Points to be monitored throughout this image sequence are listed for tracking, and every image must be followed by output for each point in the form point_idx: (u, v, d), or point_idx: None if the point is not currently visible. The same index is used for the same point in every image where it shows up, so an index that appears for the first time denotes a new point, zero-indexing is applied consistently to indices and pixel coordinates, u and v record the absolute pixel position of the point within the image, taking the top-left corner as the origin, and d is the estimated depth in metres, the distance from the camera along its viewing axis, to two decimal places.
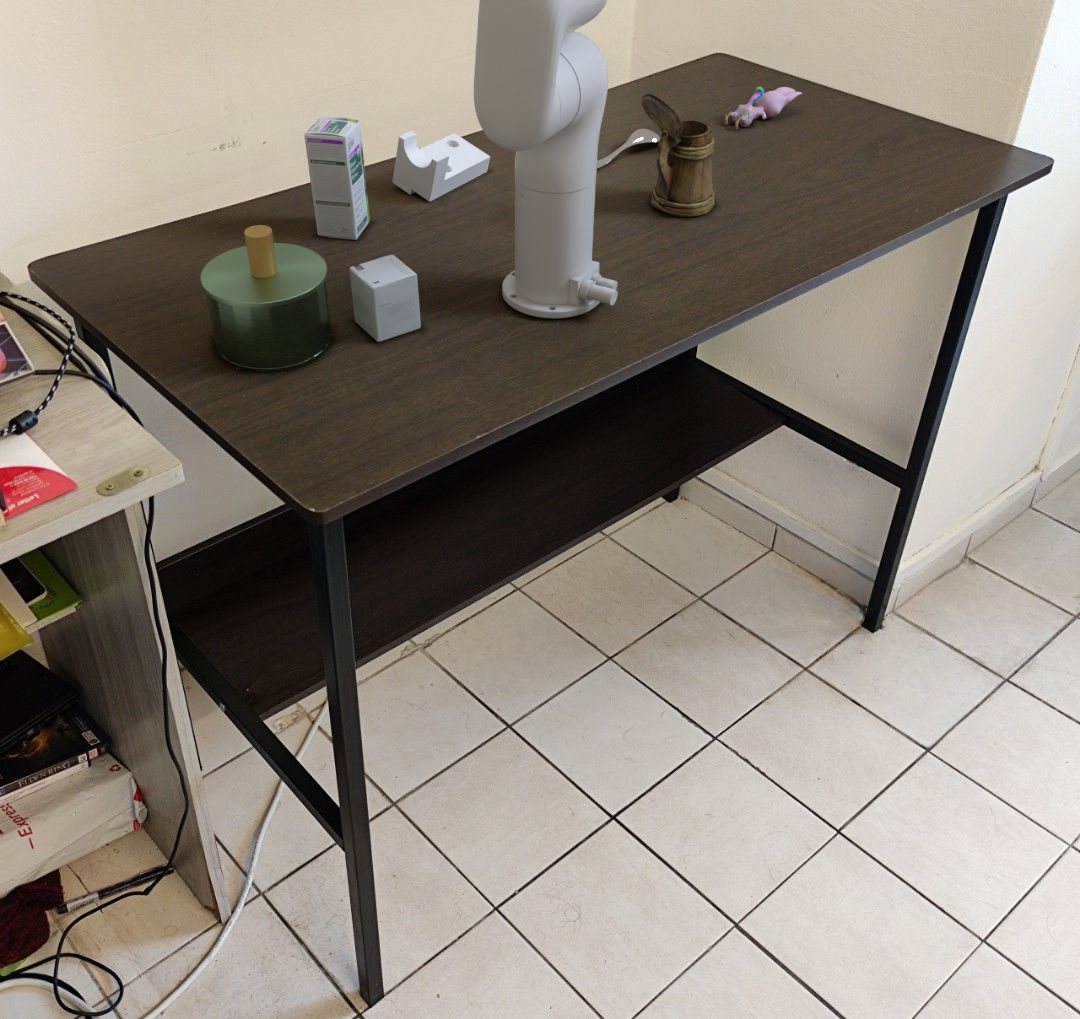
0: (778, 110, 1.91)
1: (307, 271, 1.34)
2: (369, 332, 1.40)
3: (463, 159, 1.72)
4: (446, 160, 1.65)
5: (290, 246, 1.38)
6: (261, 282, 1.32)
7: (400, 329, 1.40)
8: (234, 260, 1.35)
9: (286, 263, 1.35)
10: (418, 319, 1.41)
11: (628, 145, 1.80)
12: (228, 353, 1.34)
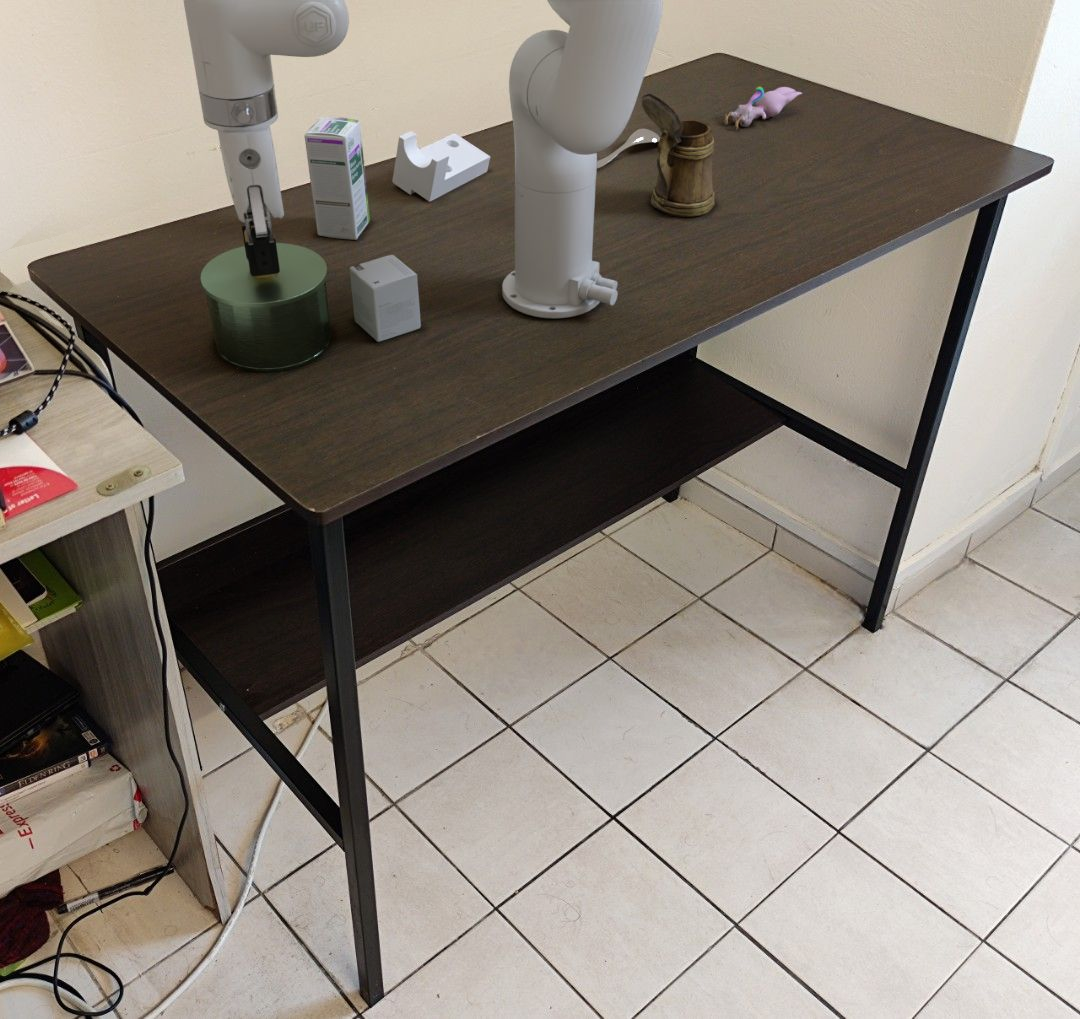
0: (778, 110, 1.91)
1: (307, 271, 1.34)
2: (369, 332, 1.40)
3: (463, 159, 1.72)
4: (446, 160, 1.65)
5: (290, 246, 1.38)
6: (261, 282, 1.32)
7: (400, 329, 1.40)
8: (234, 260, 1.35)
9: (286, 263, 1.35)
10: (418, 319, 1.41)
11: (628, 145, 1.80)
12: (228, 353, 1.34)
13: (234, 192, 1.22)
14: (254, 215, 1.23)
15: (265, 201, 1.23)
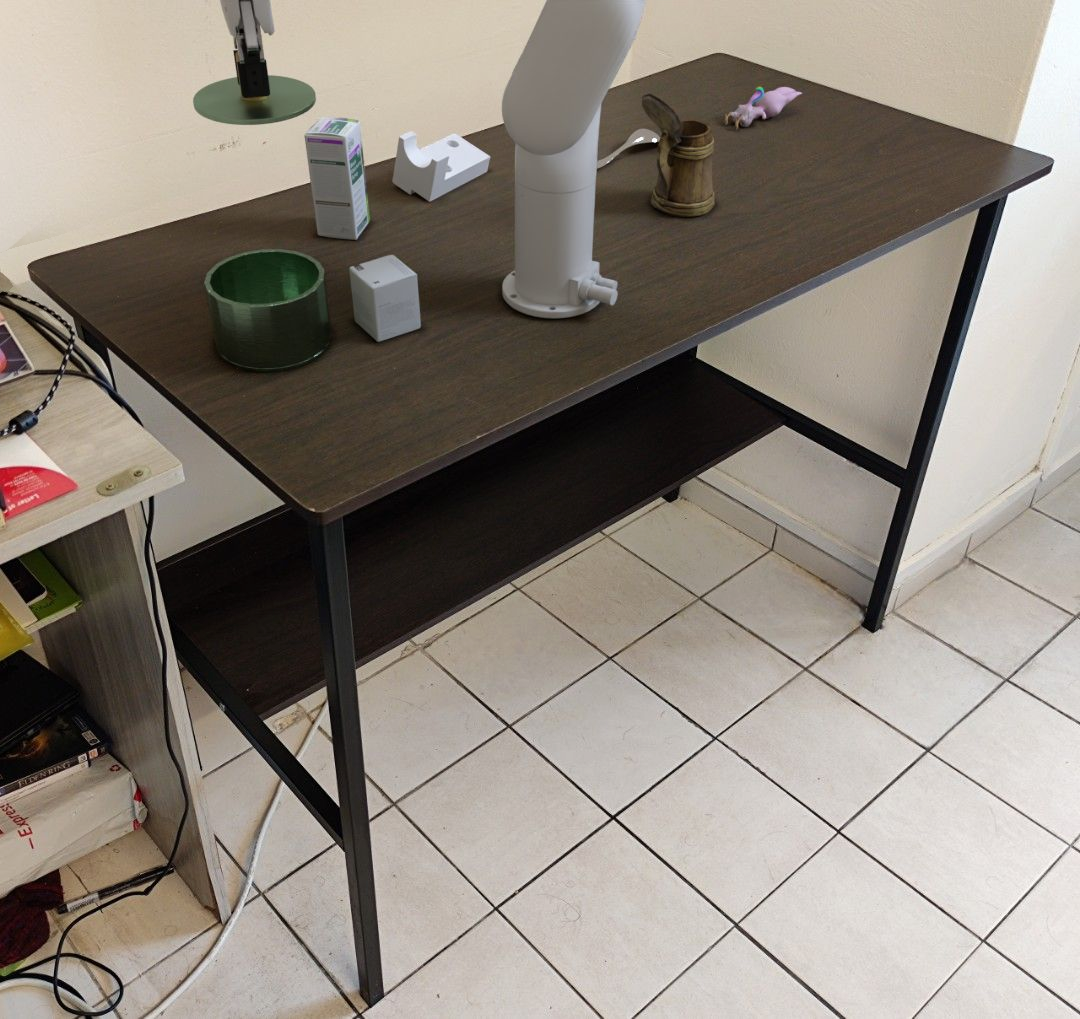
0: (778, 110, 1.91)
1: (296, 96, 1.38)
2: (369, 332, 1.40)
3: (463, 159, 1.72)
4: (446, 160, 1.65)
5: (280, 77, 1.43)
6: (252, 104, 1.36)
7: (400, 329, 1.40)
8: (226, 87, 1.40)
9: (276, 90, 1.40)
10: (418, 319, 1.41)
11: (628, 145, 1.80)
12: (228, 353, 1.34)
13: (226, 4, 1.27)
14: (245, 28, 1.28)
15: (256, 14, 1.28)
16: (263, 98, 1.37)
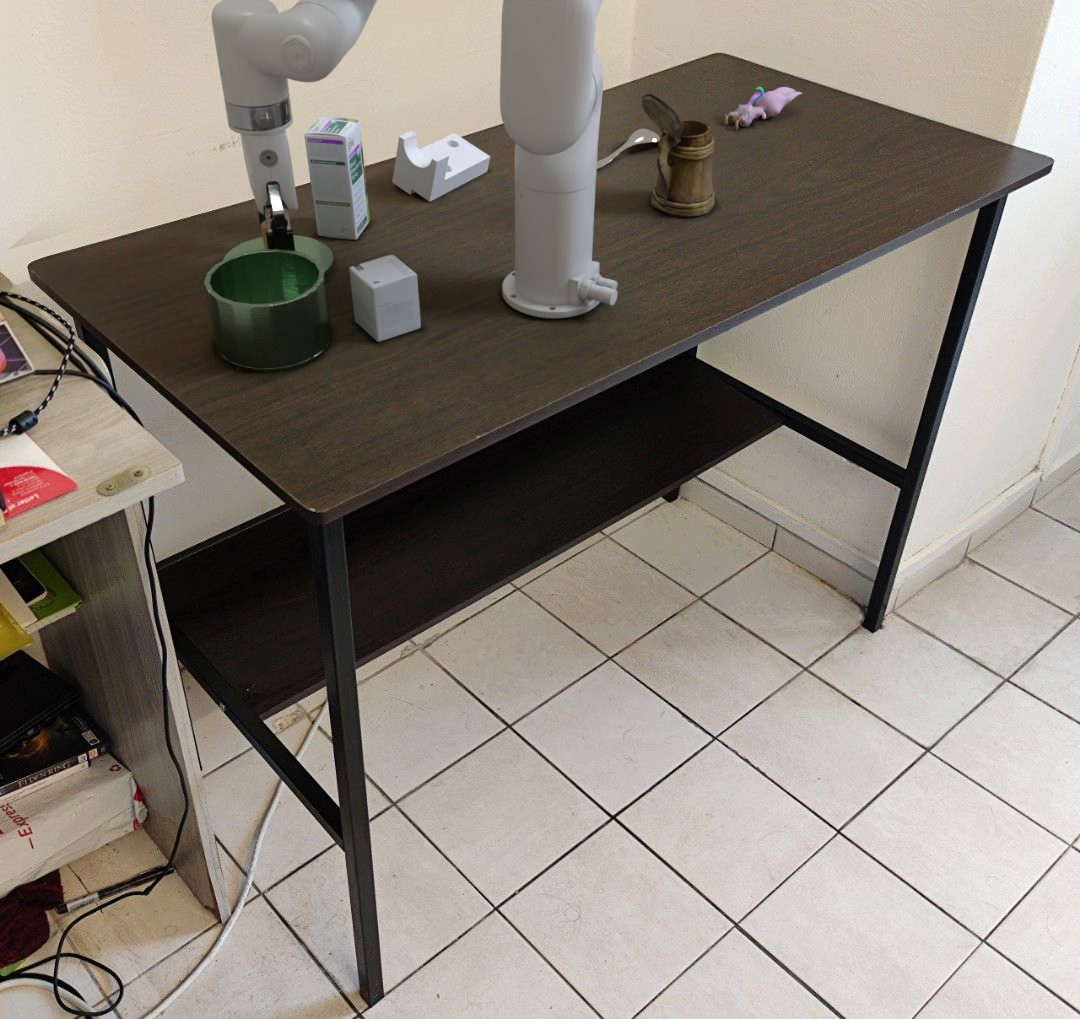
0: (778, 110, 1.91)
1: (315, 259, 1.52)
2: (369, 332, 1.40)
3: (463, 159, 1.72)
4: (446, 160, 1.65)
5: (300, 237, 1.57)
6: None
7: (400, 329, 1.40)
8: (251, 250, 1.54)
9: None
10: (418, 319, 1.41)
11: (628, 145, 1.80)
12: (228, 353, 1.34)
13: (255, 187, 1.40)
14: (271, 198, 1.39)
15: (282, 195, 1.41)
16: None
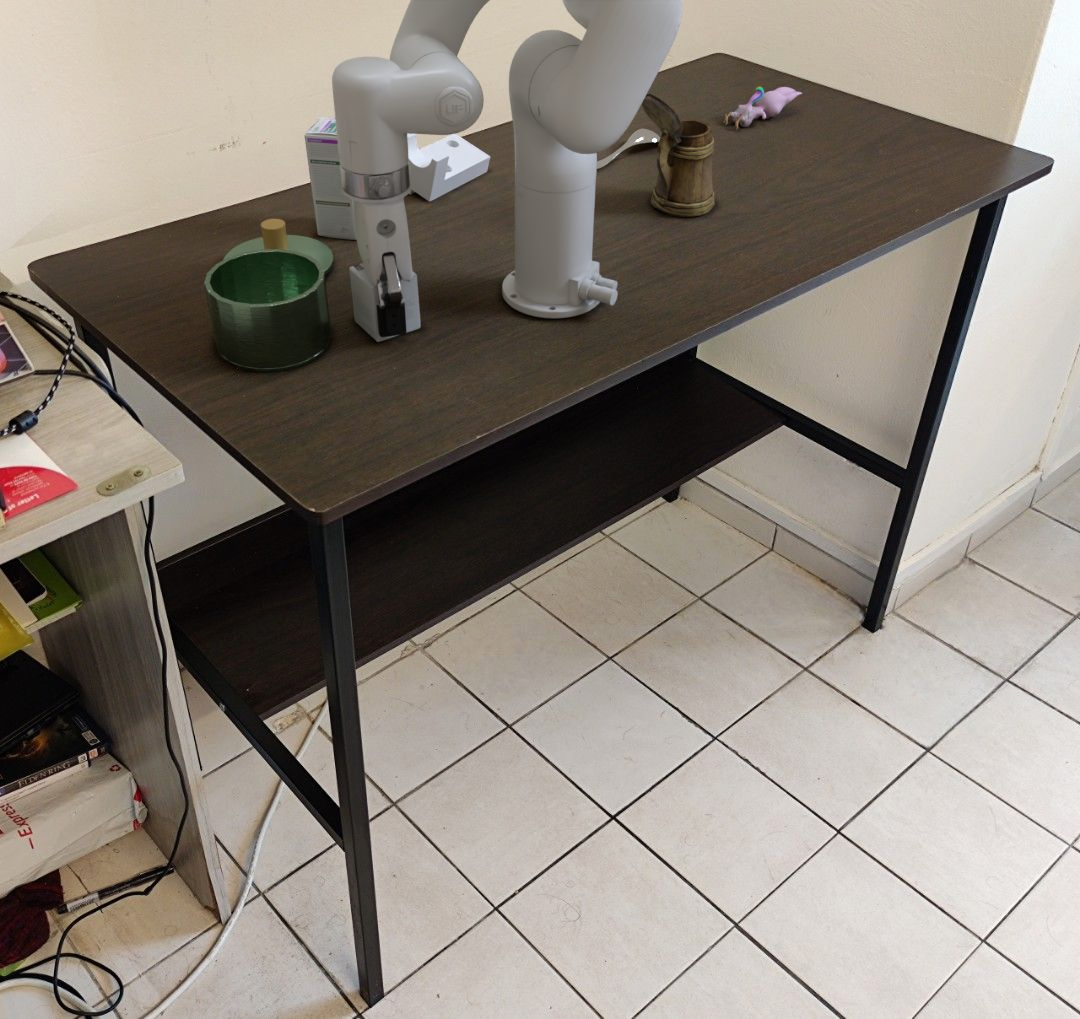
0: (778, 110, 1.91)
1: (315, 259, 1.52)
2: (369, 332, 1.40)
3: (463, 159, 1.72)
4: (446, 160, 1.65)
5: (300, 237, 1.57)
6: None
7: None
8: (251, 250, 1.54)
9: None
10: (418, 319, 1.41)
11: (628, 145, 1.80)
12: (228, 353, 1.34)
13: (370, 258, 1.31)
14: (388, 275, 1.31)
15: (397, 266, 1.32)
16: None
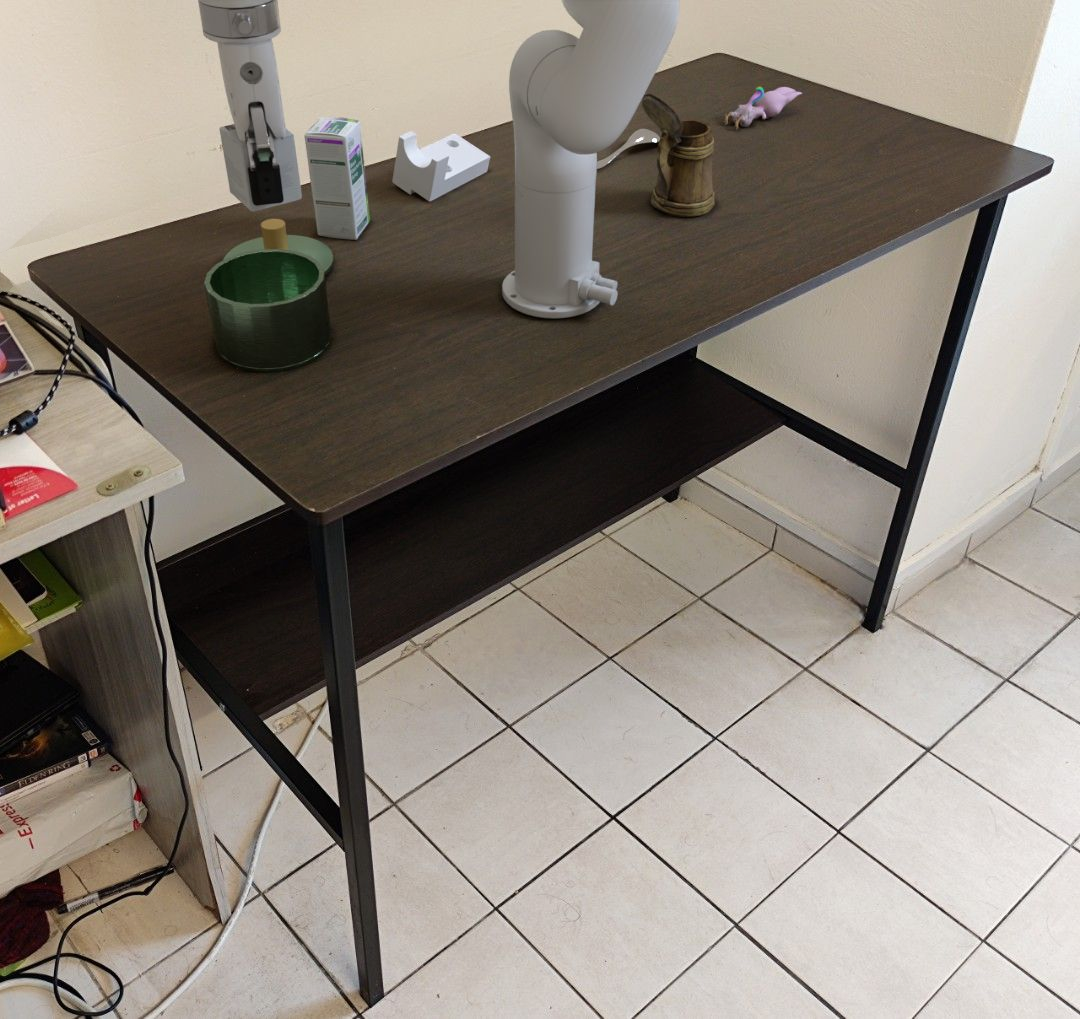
0: (778, 110, 1.91)
1: (315, 259, 1.52)
2: (243, 201, 1.26)
3: (463, 159, 1.72)
4: (446, 160, 1.65)
5: (300, 237, 1.57)
6: None
7: None
8: (251, 250, 1.54)
9: None
10: (298, 188, 1.26)
11: (629, 145, 1.80)
12: (228, 353, 1.34)
13: (235, 109, 1.17)
14: (255, 127, 1.17)
15: (267, 119, 1.18)
16: None
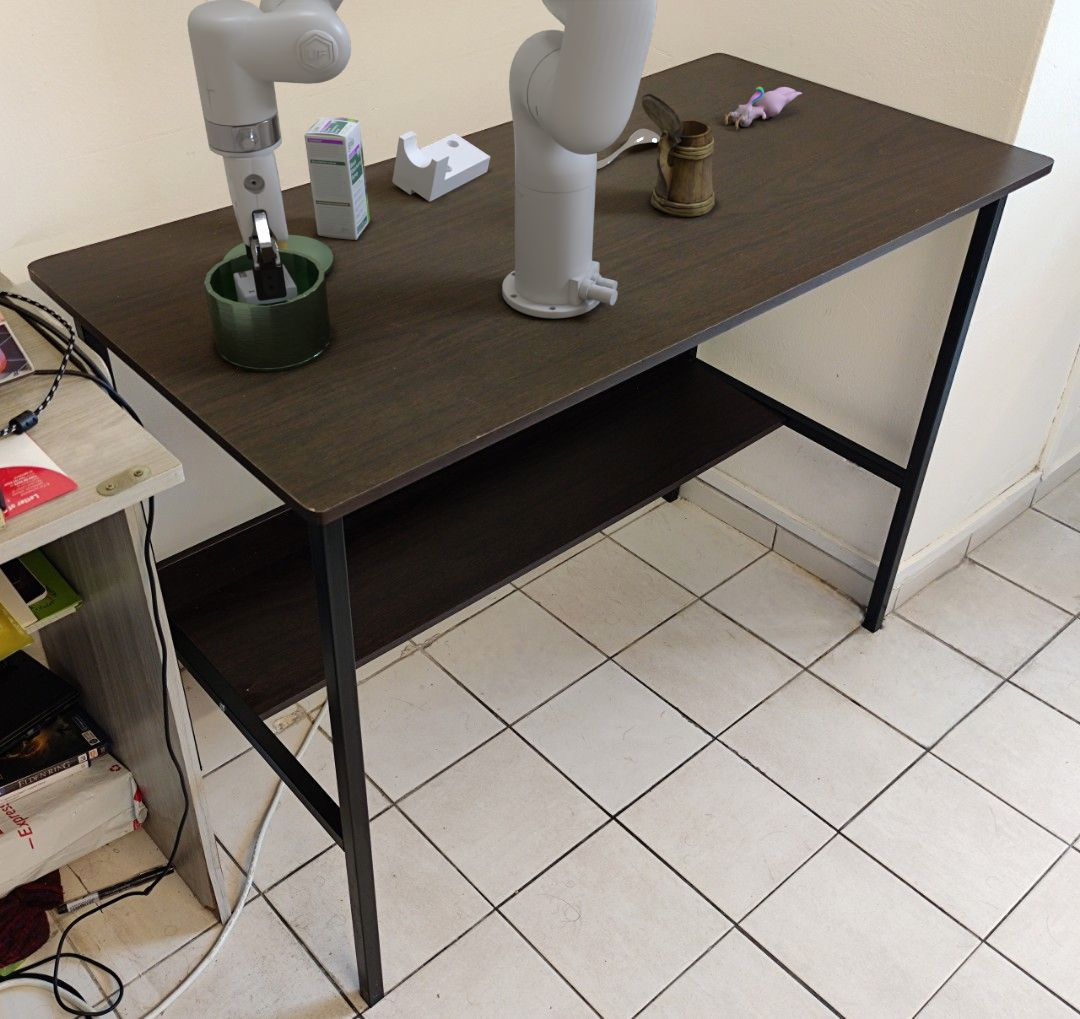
0: (778, 110, 1.91)
1: (315, 259, 1.52)
2: None
3: (463, 159, 1.72)
4: (446, 160, 1.65)
5: (300, 237, 1.57)
6: None
7: None
8: None
9: None
10: None
11: (629, 145, 1.80)
12: (228, 353, 1.34)
13: (239, 216, 1.24)
14: (258, 229, 1.23)
15: (270, 225, 1.25)
16: None
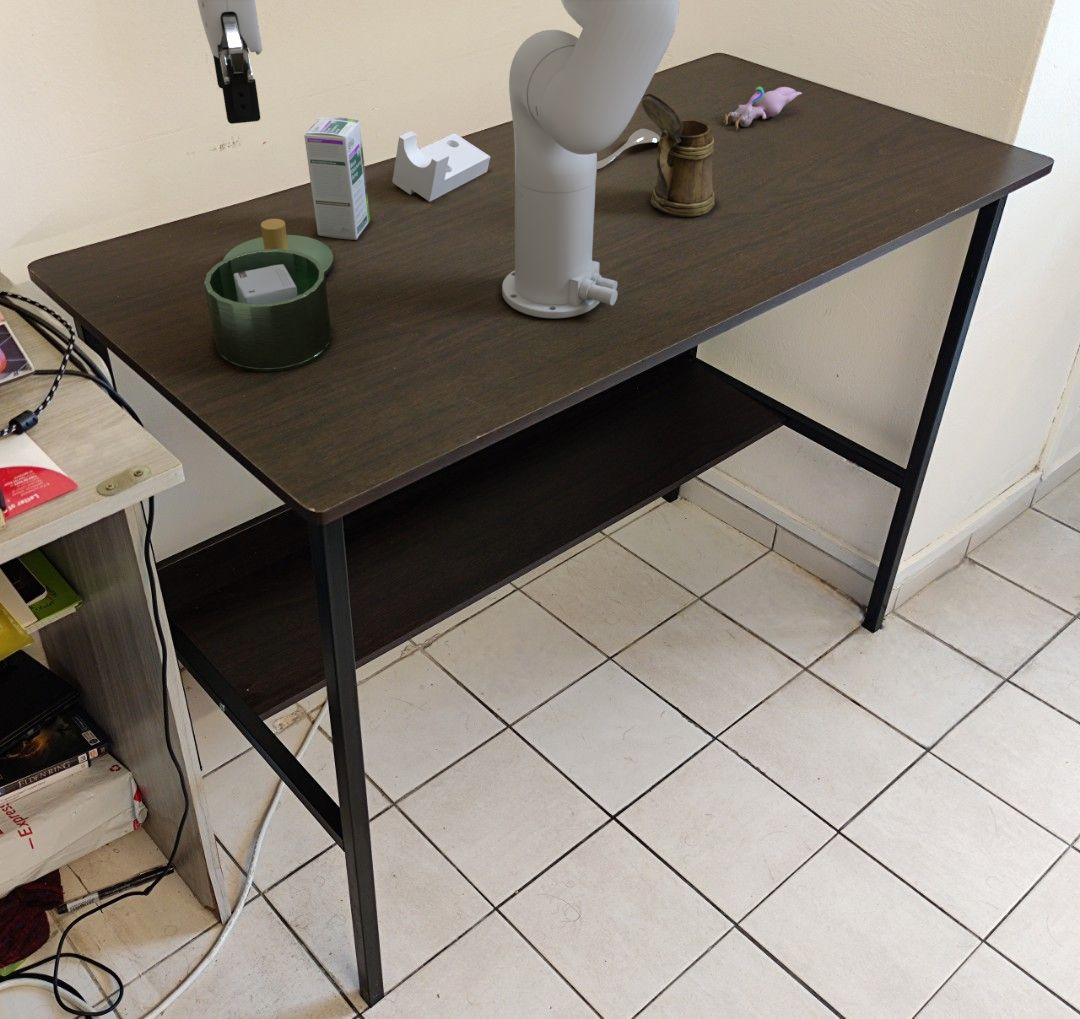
0: (778, 110, 1.91)
1: (315, 259, 1.52)
2: None
3: (463, 159, 1.72)
4: (446, 160, 1.65)
5: (300, 237, 1.57)
6: None
7: None
8: (251, 250, 1.54)
9: None
10: None
11: (629, 145, 1.80)
12: (228, 353, 1.34)
13: (206, 20, 1.11)
14: (227, 32, 1.10)
15: (241, 31, 1.12)
16: None
